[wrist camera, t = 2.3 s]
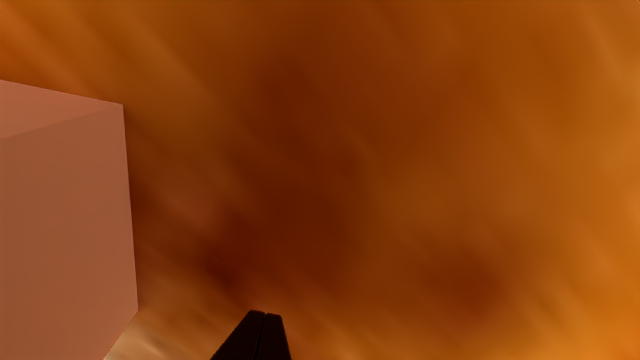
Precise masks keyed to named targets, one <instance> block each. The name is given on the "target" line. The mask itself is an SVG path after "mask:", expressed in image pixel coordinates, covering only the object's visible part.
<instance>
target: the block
mask: <svg viewBox="0 0 640 360" xmlns="http://www.w3.org/2000/svg"><path fill="white" fill-rule="evenodd" d="M137 311H138V297H137V284H136V271H135V258H134V245H133V232H132V218H131V205H130V192H129V179H128V166H127V153H126V140H125V126H124V113H123V104H119V103H114V102H109V101H104V100H99V99H94V98H89V97H84V96H79V95H74V94H69V93H64V92H59V91H54V90H49V89H44V88H39V87H35V86H30V85H25V84H20V83H15V82H10V81H5V80H0V360H103V359H104V357H105V356H106V354H107V353H108V352H109V350H110V349H111V347H112V346H113V345H114V343H115V342H116V341H117V339H118V338H119V336H120V335H121V334H122V332H123V331H124V329H125V328H126V327H127V325H128V324H129V322H130V321H131V320H132V318H133V317H134V315H135V314H136V313H137Z"/></svg>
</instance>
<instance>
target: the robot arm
mask: <svg viewBox="0 0 640 360" xmlns="http://www.w3.org/2000/svg"><path fill="white" fill-rule="evenodd" d="M264 318H265V319H264ZM261 331H262V332H261ZM255 357H256V358H255ZM210 360H292V359H291V354H290V350H289V346H288V342H287V337H286V333H285V329H284V325H283V321H282V317H281V316H280V315H278V314H272V313H267V314H266V315H265V313H264V312H262V311H257V310H250V311H249V312H248V313H247V314H246V316H245V317H244V318H243V319H242V320H241V322H240V323H239V324H238V325H237V327H236V328H235V329H234V330H233V332H232V333H231V334H230V335H229V337H228V338H227V339H226V340H225V341H224V343H223V344H222V345H221V346H220V348H219V349H218V350H217V351H216V353H215V354H214V355H213V356H212V357H211V359H210Z"/></svg>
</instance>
